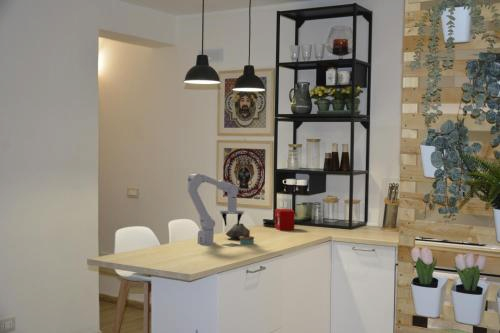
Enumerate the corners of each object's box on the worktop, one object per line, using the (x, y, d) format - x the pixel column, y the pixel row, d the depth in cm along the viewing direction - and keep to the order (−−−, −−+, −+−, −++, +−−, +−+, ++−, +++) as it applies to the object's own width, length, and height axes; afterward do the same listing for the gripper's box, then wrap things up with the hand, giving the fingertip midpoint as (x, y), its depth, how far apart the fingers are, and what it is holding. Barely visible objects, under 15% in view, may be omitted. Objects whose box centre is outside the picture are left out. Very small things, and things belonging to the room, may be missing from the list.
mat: (232, 247, 362) (232, 246, 362) (220, 245, 368) (220, 244, 368) (243, 245, 369) (243, 245, 369) (231, 243, 376) (231, 243, 376)
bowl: (247, 245, 369) (247, 239, 369) (237, 244, 375) (237, 238, 374) (256, 244, 375) (256, 238, 375) (246, 242, 380) (246, 237, 380)
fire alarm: (274, 228, 459) (274, 208, 458) (288, 227, 461) (288, 208, 460) (279, 230, 443) (279, 210, 442) (294, 230, 445) (294, 210, 444)
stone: (255, 221, 396) (241, 223, 384) (256, 237, 396) (243, 240, 383) (233, 223, 407) (219, 225, 394) (234, 239, 406) (220, 241, 394)
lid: (249, 240, 368) (249, 231, 368) (236, 238, 373) (236, 230, 373) (256, 238, 376) (256, 230, 376) (244, 237, 381) (244, 229, 381)
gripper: (219, 204, 378) (219, 226, 378) (243, 204, 377) (242, 226, 377) (221, 203, 385) (220, 224, 386) (244, 203, 384) (243, 225, 384)
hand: (231, 225), depth 382 cm, fingers open, 7 cm apart
